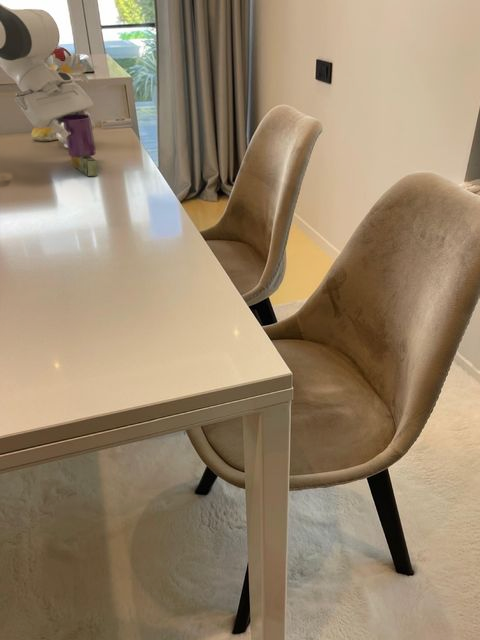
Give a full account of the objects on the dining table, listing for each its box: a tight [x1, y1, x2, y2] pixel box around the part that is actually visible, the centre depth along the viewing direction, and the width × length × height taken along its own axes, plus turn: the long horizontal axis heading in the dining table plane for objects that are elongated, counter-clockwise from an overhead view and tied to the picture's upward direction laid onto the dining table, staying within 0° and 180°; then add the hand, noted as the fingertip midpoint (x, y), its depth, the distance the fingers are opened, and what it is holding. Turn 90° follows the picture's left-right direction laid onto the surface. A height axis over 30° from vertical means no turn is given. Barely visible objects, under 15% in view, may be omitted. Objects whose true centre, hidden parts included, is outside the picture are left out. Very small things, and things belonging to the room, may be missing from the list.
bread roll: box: [31, 127, 59, 142], centre depth 175 cm, size 8×9×4 cm
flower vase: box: [44, 50, 90, 149], centre depth 161 cm, size 13×18×25 cm
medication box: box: [71, 156, 98, 177], centre depth 146 cm, size 12×3×4 cm, turn 35°
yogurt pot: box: [62, 114, 97, 158], centre depth 142 cm, size 7×7×9 cm
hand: (80, 132), depth 141 cm, fingers open, 8 cm apart
